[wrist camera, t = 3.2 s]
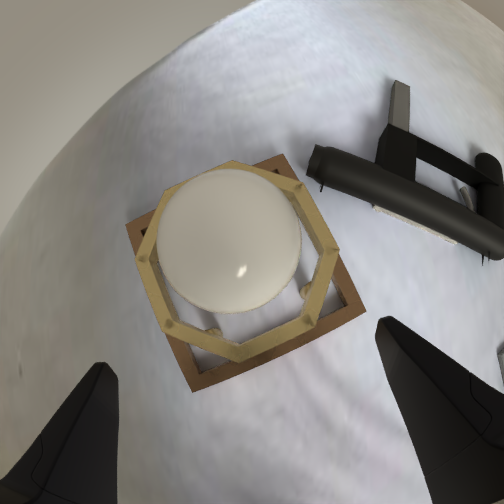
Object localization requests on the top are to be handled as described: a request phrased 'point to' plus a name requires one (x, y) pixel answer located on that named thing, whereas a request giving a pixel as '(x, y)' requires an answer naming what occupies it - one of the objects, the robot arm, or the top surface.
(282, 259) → the lightbulb
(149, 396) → the top surface
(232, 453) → the top surface
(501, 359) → the mat
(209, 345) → the ring stand
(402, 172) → the door handle
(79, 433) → the robot arm
